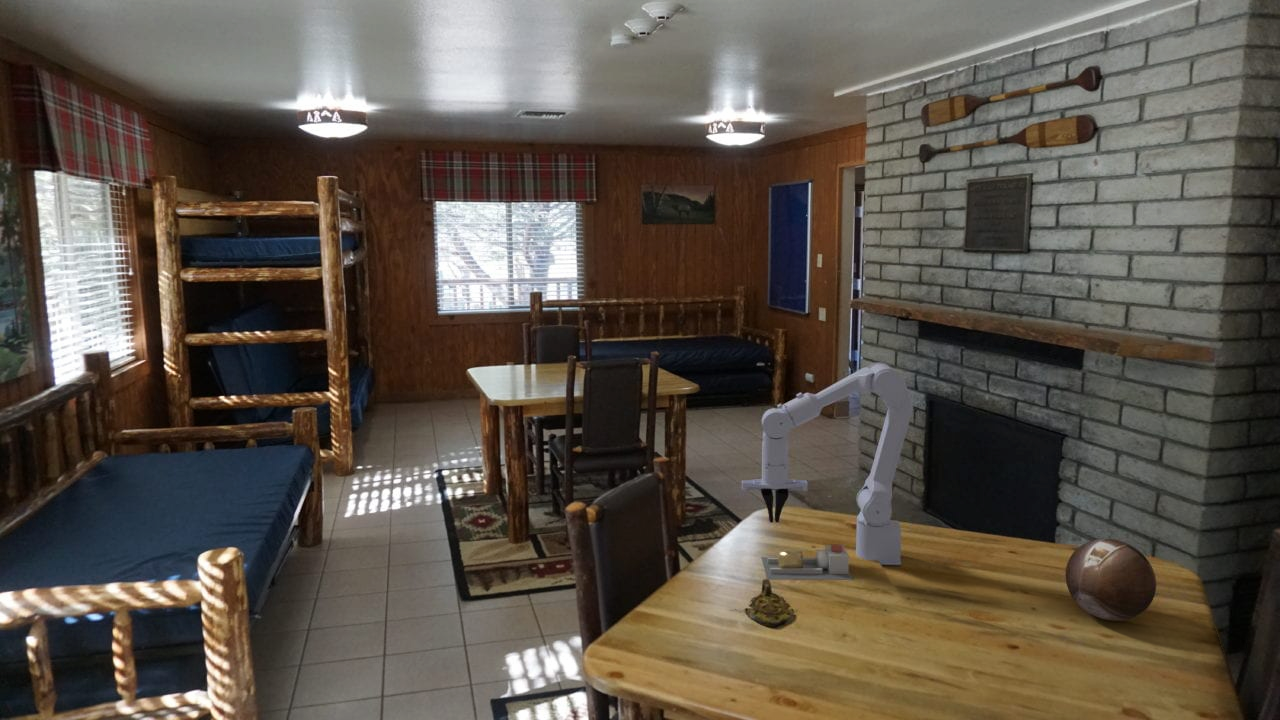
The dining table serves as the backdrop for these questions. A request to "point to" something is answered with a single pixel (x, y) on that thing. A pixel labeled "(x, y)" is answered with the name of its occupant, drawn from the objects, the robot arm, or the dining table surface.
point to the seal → (769, 608)
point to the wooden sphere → (1110, 579)
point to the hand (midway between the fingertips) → (773, 521)
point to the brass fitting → (790, 559)
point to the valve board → (814, 566)
